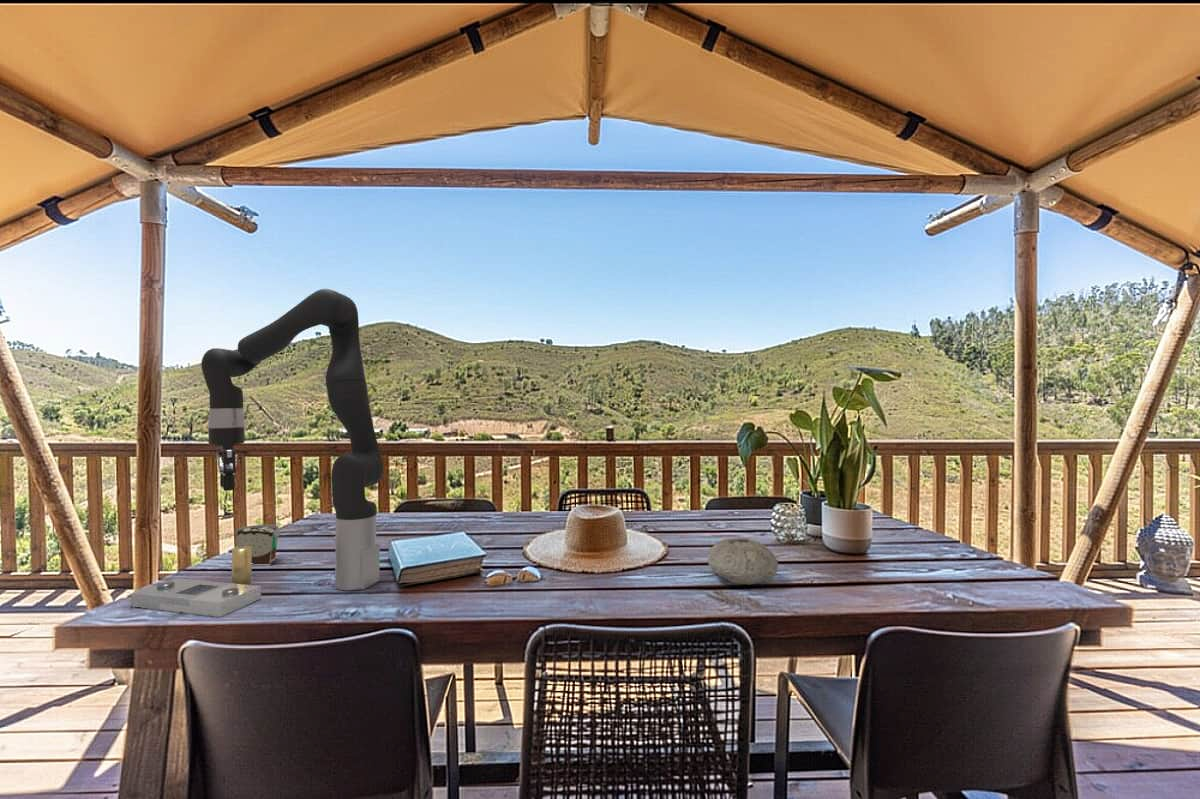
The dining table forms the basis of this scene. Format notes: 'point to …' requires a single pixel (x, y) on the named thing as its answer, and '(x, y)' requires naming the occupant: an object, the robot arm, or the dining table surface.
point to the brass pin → (241, 565)
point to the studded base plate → (196, 597)
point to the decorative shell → (742, 561)
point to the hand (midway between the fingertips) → (227, 488)
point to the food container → (259, 542)
